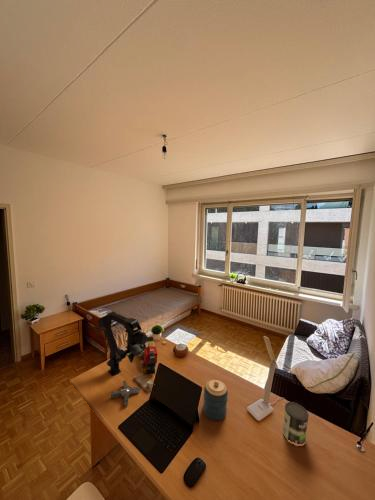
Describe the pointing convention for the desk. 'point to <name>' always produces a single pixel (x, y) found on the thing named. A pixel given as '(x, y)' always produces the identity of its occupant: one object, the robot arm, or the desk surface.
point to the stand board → (144, 382)
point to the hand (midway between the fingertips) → (131, 362)
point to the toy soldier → (149, 356)
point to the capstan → (125, 392)
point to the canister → (215, 400)
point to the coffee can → (295, 422)
